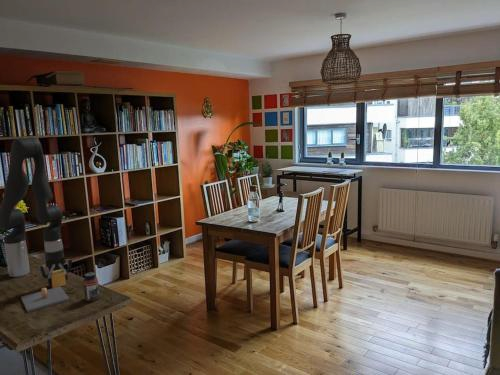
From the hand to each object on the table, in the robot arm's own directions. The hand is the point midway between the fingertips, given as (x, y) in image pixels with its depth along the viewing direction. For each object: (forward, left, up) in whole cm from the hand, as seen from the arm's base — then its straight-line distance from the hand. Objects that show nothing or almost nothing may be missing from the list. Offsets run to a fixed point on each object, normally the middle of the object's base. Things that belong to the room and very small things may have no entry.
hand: (58, 283), depth 184 cm
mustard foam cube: (0, 0, -1) cm, 1 cm away
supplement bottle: (+26, +8, -1) cm, 27 cm away
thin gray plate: (+13, -8, -1) cm, 15 cm away
